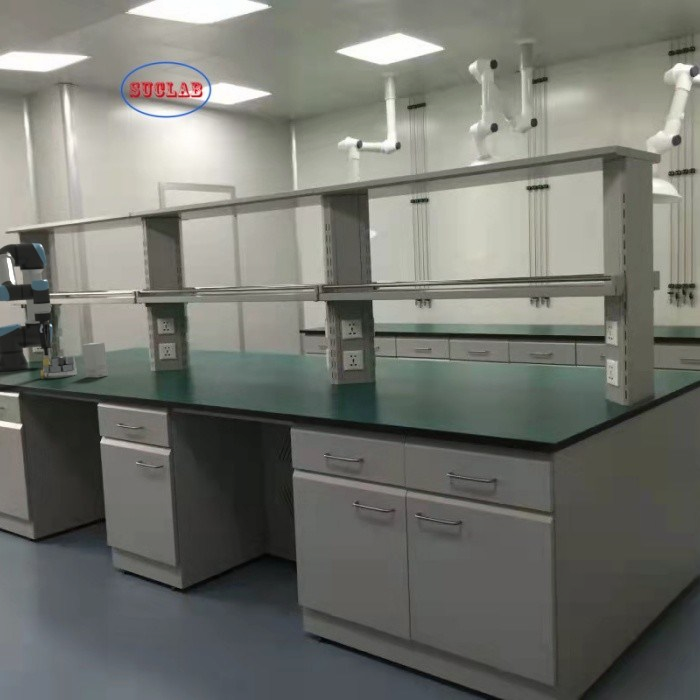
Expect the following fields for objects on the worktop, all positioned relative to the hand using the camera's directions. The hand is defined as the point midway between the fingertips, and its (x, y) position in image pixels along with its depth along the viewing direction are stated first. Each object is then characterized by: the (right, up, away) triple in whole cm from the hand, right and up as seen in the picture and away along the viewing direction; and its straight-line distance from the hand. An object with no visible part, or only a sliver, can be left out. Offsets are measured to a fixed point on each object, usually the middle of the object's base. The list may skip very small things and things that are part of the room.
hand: (47, 362), depth 361 cm
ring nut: (+6, -4, 0) cm, 7 cm away
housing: (+6, -7, 0) cm, 9 cm away
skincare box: (+26, -7, -9) cm, 29 cm away
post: (+1, -8, -7) cm, 10 cm away
